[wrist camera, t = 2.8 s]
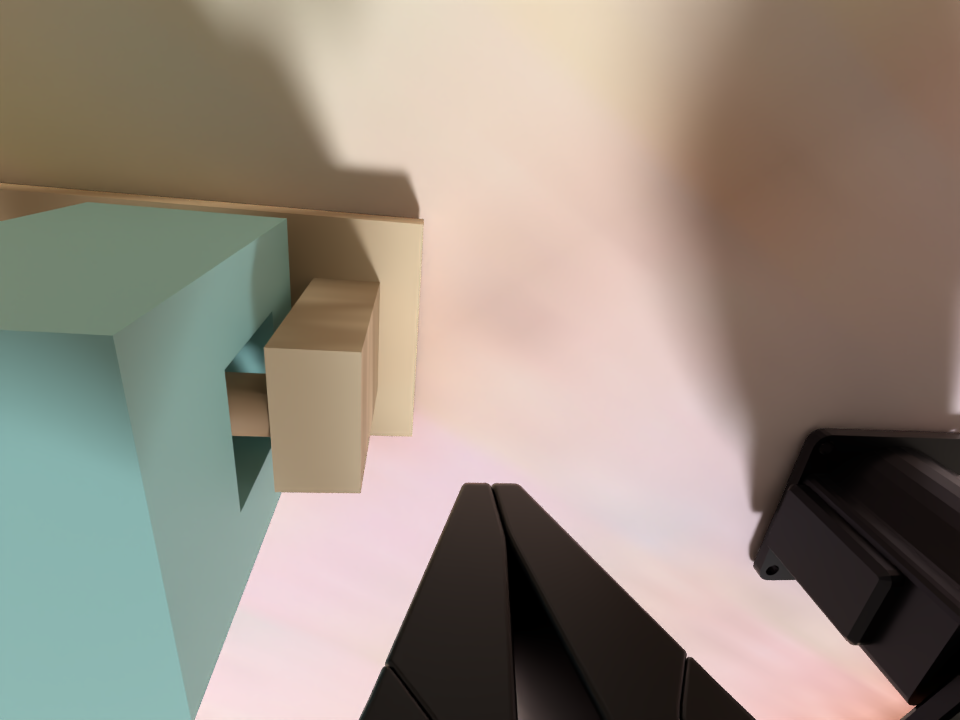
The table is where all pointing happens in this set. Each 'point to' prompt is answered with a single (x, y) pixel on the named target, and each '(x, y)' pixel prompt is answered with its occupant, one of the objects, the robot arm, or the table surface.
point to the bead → (128, 452)
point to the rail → (313, 335)
